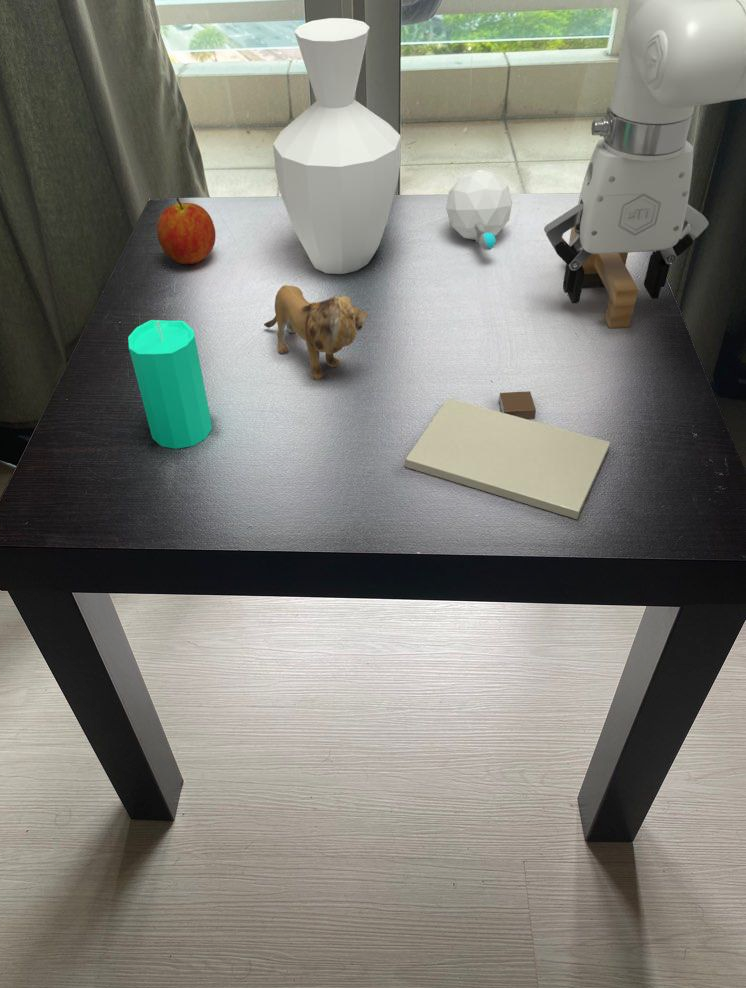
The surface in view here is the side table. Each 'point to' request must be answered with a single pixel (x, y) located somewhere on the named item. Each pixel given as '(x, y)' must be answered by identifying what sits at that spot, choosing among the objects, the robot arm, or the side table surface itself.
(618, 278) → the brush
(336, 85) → the vase
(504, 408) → the mud flake
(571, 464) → the tile
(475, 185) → the perfume bottle
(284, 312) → the lion figurine
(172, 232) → the fruit
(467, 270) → the side table surface
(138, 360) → the candle
